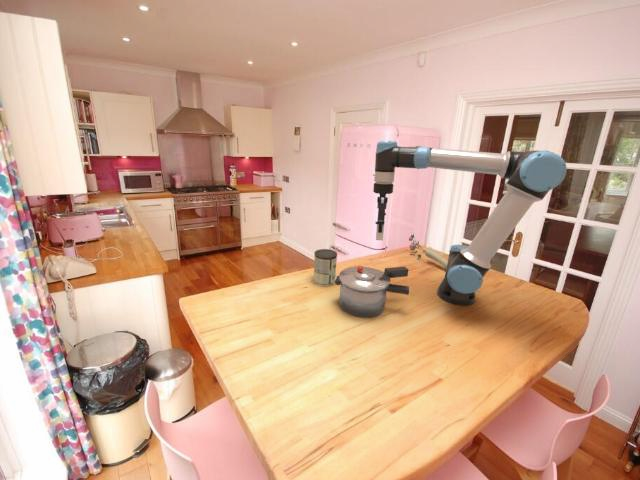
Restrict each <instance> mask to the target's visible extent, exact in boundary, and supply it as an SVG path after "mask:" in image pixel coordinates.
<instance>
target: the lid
mask: <svg viewBox="0 0 640 480" xmlns="http://www.w3.org/2000/svg"><path fill="white" fill-rule="evenodd" d="M338 276H339V280H340V282H341V283H342V284H343V285H344V286H346V287H347V288H350V289H352V290H355V291H360V292H380V291H383V290H385V289H387V288H388V287H389V285H390V284H391V279H392V278H393V279H394V278H395V279H396V278H403V277H404V278H405V277H408V276H409V268H407V267H406V266H396V267H385V268H384V271H382V270H381V269H377V268H373V267H370V266H369V267H368V266H361V265H358V266H350V267H347V268H344V269H342V270H341V271H340V272H339V275H338Z"/></svg>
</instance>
